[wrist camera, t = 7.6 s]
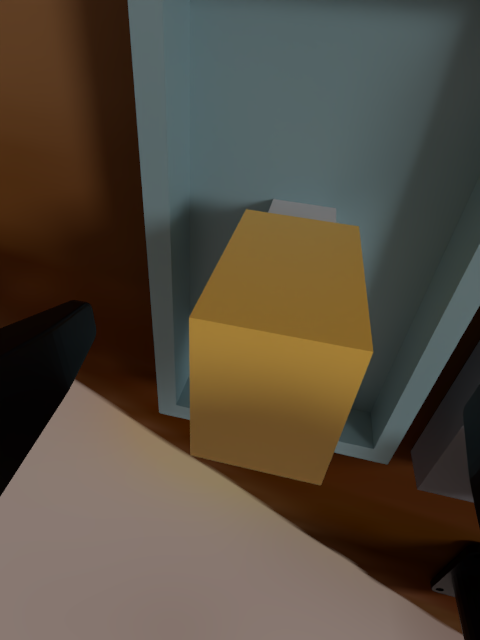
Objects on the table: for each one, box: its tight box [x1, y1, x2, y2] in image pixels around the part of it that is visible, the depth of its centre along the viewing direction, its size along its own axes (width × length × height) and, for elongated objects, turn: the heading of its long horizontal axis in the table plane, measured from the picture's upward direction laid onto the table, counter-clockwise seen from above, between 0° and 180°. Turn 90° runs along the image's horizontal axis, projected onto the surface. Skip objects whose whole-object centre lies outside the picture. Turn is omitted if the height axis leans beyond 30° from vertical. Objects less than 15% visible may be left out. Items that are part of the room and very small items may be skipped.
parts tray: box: [128, 0, 480, 465], centre depth 12 cm, size 16×10×2 cm, turn 176°
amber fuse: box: [189, 199, 373, 485], centre depth 10 cm, size 4×3×7 cm
